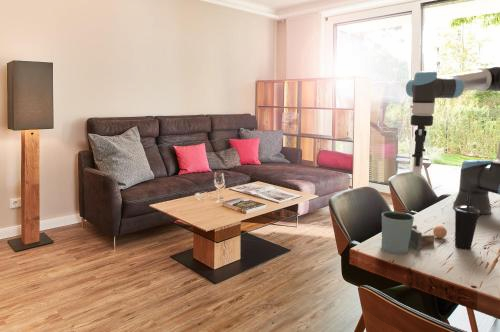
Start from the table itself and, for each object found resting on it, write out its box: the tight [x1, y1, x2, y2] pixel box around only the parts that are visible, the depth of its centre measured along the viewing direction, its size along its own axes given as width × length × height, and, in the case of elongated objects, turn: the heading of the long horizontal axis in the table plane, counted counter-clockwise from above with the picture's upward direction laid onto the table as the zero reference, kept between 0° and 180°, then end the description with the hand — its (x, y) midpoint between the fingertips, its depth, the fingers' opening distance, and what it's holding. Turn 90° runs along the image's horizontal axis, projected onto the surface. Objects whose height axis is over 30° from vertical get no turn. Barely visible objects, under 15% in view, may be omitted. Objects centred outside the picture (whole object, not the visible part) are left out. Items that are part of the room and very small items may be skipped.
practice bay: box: [409, 224, 436, 251], centre depth 142 cm, size 9×14×6 cm, turn 13°
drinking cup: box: [454, 191, 480, 251], centre depth 136 cm, size 8×8×20 cm
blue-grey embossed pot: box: [381, 210, 415, 255], centre depth 135 cm, size 10×10×12 cm
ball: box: [432, 225, 448, 239], centre depth 146 cm, size 4×4×4 cm
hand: (417, 171), depth 150 cm, fingers open, 13 cm apart
